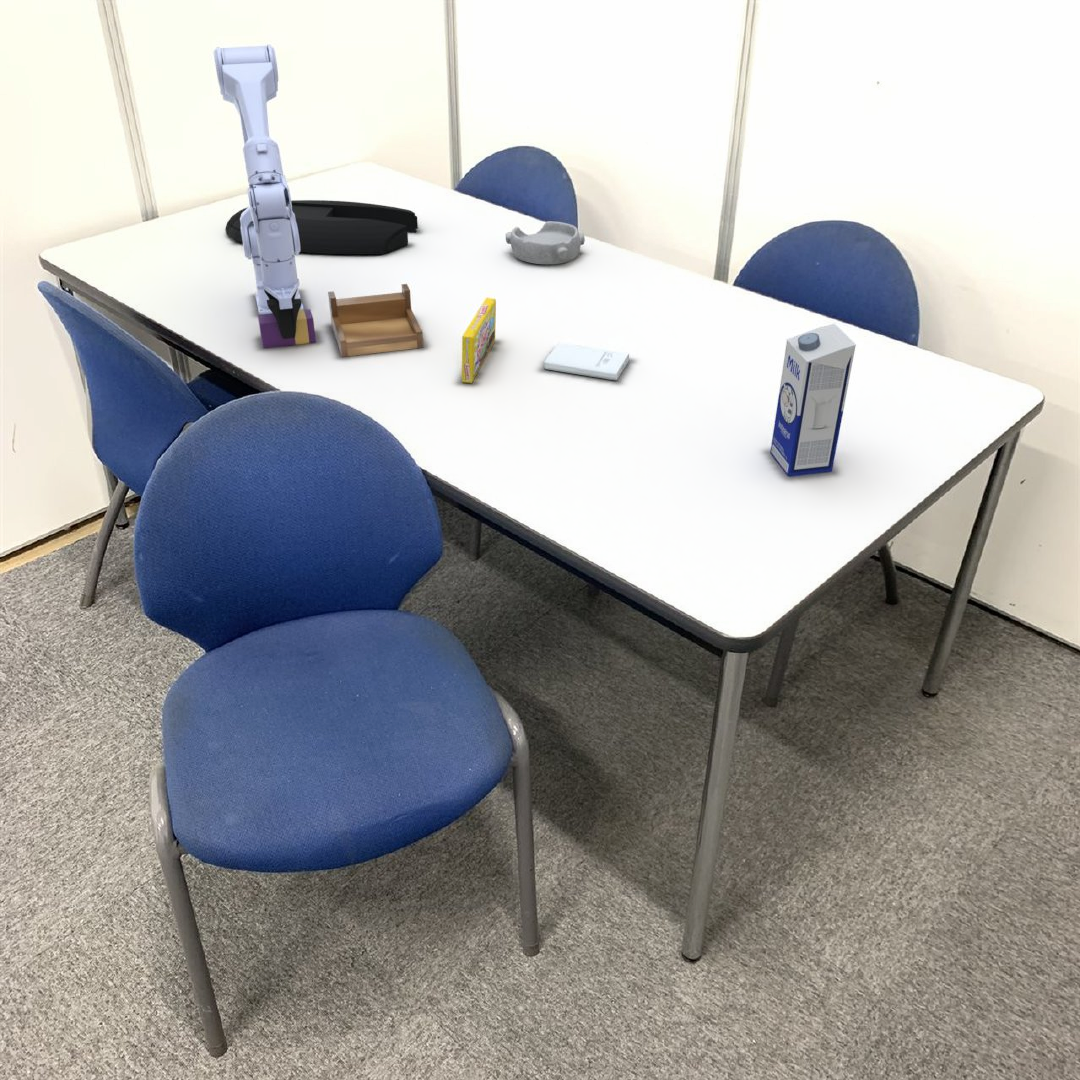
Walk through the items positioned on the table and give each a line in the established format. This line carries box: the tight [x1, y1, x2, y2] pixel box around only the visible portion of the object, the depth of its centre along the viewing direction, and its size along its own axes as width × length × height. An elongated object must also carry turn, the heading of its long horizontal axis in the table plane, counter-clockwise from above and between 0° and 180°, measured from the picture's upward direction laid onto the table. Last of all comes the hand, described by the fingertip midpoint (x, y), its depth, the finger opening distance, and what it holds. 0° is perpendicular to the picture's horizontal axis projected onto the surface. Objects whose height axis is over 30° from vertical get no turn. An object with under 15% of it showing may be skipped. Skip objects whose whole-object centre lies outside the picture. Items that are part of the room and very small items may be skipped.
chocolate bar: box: [257, 308, 317, 349], centre depth 190 cm, size 4×9×4 cm, turn 106°
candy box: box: [461, 297, 497, 384], centre depth 183 cm, size 16×2×8 cm, turn 169°
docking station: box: [224, 199, 419, 255], centre depth 233 cm, size 25×41×5 cm, turn 82°
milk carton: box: [770, 323, 857, 477], centre depth 153 cm, size 7×7×20 cm
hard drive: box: [543, 342, 630, 381], centre depth 184 cm, size 2×8×12 cm
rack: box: [327, 283, 424, 358], centre depth 191 cm, size 13×14×6 cm
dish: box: [505, 220, 586, 265], centre depth 224 cm, size 14×14×5 cm
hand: (287, 332), depth 190 cm, fingers closed on chocolate bar, 4 cm apart
